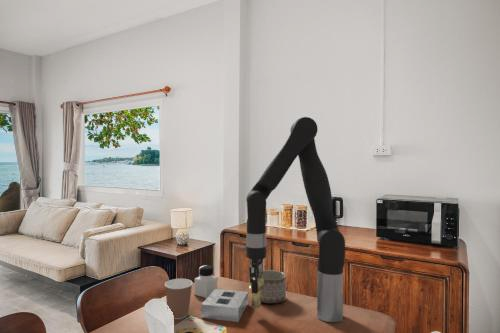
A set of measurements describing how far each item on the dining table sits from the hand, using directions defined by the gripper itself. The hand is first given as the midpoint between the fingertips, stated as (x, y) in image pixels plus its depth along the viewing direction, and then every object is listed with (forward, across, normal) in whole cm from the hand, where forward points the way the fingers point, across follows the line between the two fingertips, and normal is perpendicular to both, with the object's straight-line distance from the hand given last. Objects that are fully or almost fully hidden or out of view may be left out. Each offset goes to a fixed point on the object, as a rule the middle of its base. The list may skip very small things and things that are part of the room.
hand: (256, 289), depth 128 cm
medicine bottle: (+10, +16, +25) cm, 32 cm away
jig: (+10, +2, +12) cm, 16 cm away
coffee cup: (+10, -6, +28) cm, 31 cm away
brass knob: (+6, 0, 0) cm, 6 cm away
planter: (+10, +17, -3) cm, 20 cm away
